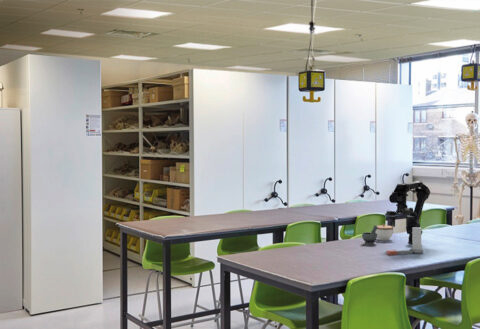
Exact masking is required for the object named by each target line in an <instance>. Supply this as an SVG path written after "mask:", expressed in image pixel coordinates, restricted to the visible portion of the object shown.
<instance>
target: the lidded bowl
mask: <svg viewBox="0 0 480 329" xmlns="http://www.w3.org/2000/svg"><path fill="white" fill-rule="evenodd" d="M376 226H377V227H378V228H377V230H376V232H375V233H377V239H378V241H384V242H385V241H389V240H390V239H391V238H392V237H393V233H394V232H393V231H394V227H393V225H386V224H385V223H382V224H381V225H379V224H378V225H376Z"/></svg>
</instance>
